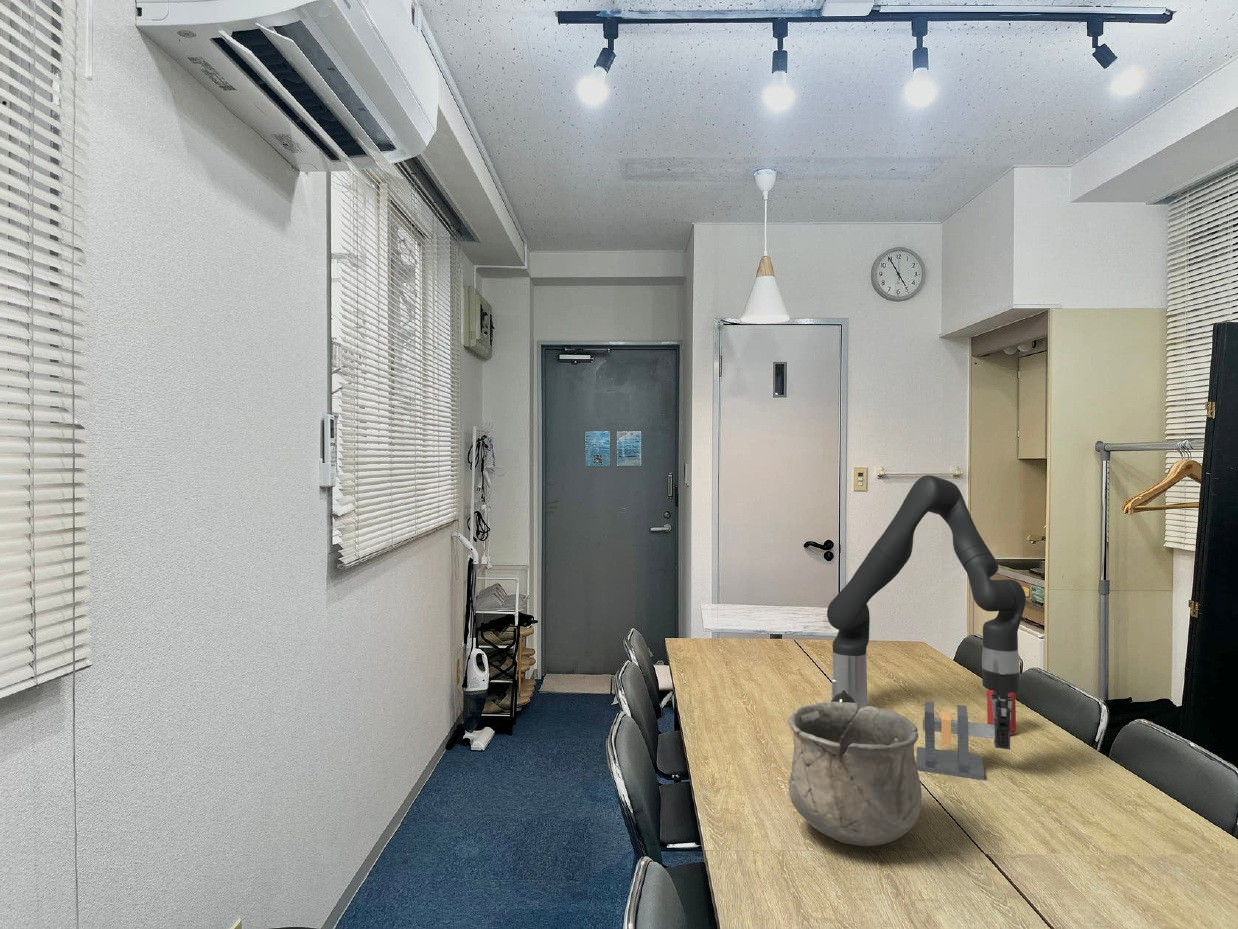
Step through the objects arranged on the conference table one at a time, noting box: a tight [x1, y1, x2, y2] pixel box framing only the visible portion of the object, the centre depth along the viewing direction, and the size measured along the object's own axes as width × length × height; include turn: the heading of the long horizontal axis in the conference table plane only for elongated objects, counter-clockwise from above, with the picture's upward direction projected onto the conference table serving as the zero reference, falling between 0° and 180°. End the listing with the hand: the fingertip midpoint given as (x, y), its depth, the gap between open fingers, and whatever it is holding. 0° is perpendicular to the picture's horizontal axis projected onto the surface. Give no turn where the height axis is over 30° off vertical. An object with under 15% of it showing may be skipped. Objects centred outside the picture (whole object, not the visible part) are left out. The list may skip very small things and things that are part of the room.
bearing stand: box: [915, 700, 985, 781], centre depth 163 cm, size 14×12×13 cm
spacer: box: [940, 710, 952, 747], centre depth 163 cm, size 2×6×6 cm, turn 156°
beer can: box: [986, 689, 1017, 736], centre depth 183 cm, size 7×7×12 cm
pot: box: [787, 701, 923, 847], centre depth 133 cm, size 25×24×21 cm
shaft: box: [922, 715, 1011, 750], centre depth 162 cm, size 18×3×6 cm, turn 66°
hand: (1002, 743), depth 159 cm, fingers closed on shaft, 3 cm apart
